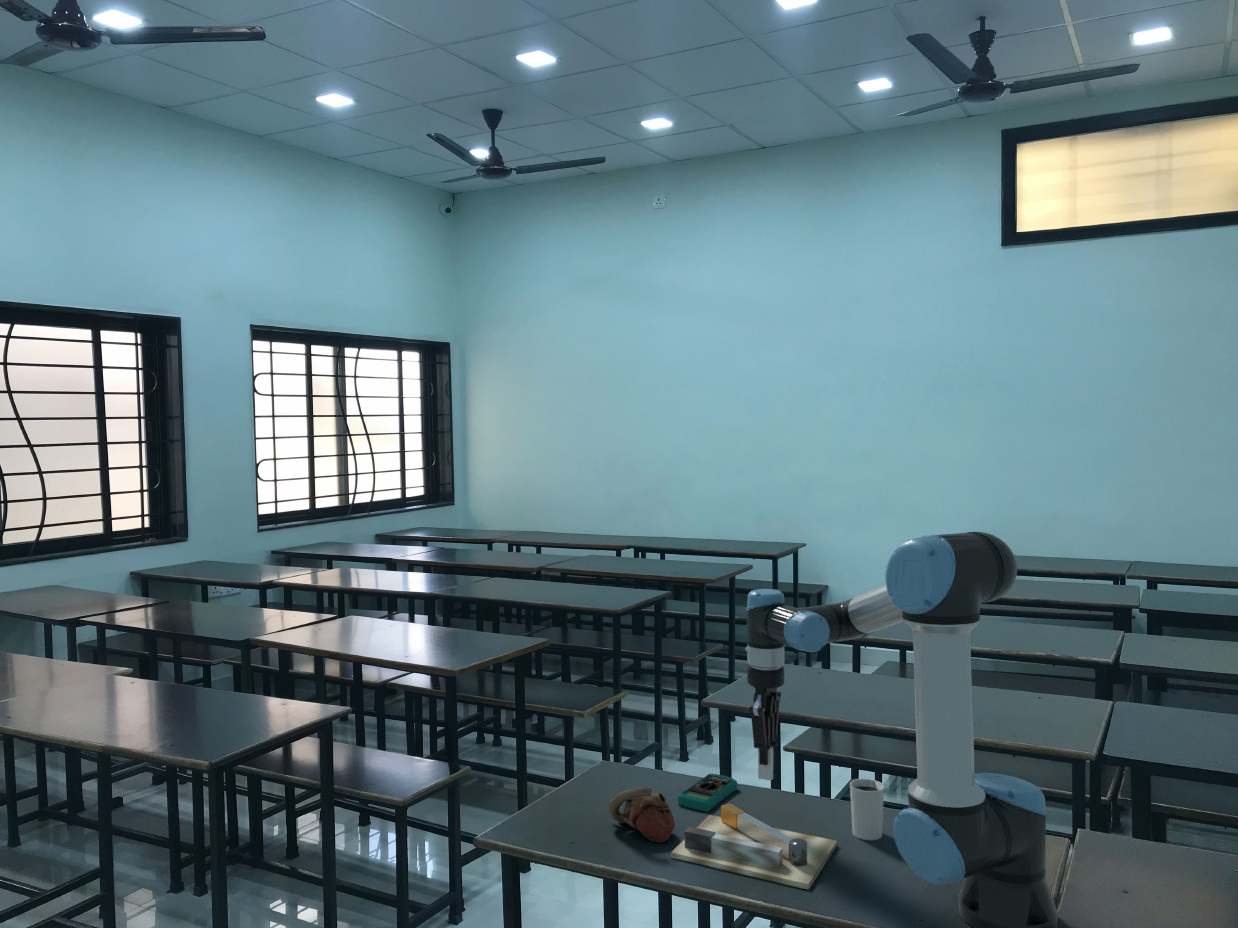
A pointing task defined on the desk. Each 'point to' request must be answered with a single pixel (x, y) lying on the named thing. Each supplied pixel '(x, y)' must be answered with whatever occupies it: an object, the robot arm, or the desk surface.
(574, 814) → the desk surface
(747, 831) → the bar
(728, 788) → the digital multimeter
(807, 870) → the board
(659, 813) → the anatomical model
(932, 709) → the robot arm
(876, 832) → the white coffee cup
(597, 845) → the desk surface
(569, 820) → the desk surface
